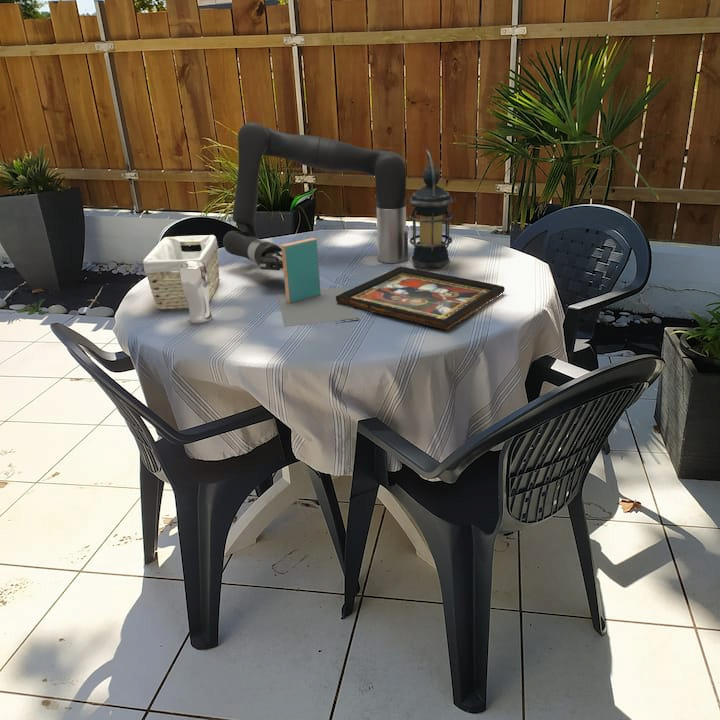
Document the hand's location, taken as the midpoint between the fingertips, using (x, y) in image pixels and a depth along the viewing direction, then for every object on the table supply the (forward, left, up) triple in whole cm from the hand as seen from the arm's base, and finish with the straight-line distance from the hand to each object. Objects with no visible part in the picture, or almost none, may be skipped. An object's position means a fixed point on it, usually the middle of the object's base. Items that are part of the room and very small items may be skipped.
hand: (294, 267), depth 181 cm
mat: (-4, +10, -9) cm, 14 cm away
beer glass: (+26, +9, -9) cm, 29 cm away
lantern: (-44, -16, -9) cm, 47 cm away
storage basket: (+30, -10, -9) cm, 33 cm away
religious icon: (-33, +12, -9) cm, 36 cm away
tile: (-2, +3, -8) cm, 9 cm away
